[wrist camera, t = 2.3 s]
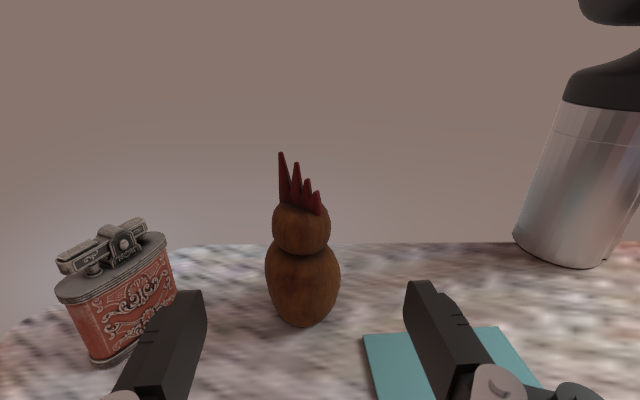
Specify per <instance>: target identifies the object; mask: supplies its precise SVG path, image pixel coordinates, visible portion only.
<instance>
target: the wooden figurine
mask: <svg viewBox="0 0 640 400" xmlns="http://www.w3.org/2000/svg"><path fill="white" fill-rule="evenodd" d="M278 159H279V199H280V203H279V205H278V206H277V207H276V208H275V210H274V212H273V216H272V234H273V238H274V241H273V242H272V243H271V245H270V247H269V249H268V251H267V254H266V257H265V276H266V281H267V286H268V290H269V294H270V297H271V299H272V302H273V304H274V306H275V308H276V310H277V312H278V314H279V315H280V316H281V317H282V318H283V319H284V320H285V321H286V322H288V323H289V324H291V325H293V326H298V327H308V326H313V325H315V324H317V323H319V322H321V321H322V320H323V319H324V318H325V317H326V316H327V315H328V313H329V312H330V311H331V309H332V308H333V306H334V304H335V301H336V298H337V294H338V291H339V288H340V280H341V275H340V267H339V264H338V262H337V260H336V257H335V255H334V253H333V251H332V250H331V249H330V247H329V246H328V245H327V242H328V240H329V237H330V231H331V221H330V218H329V215H328V211H327V209H326V208H325V207H324V205H323V204H322V203H321V198H320V193H319V191H318V190H317V191H315V192H313V194H312V189H311V183H310V179H309V178H307V179H305V180H304V185H303V184H302V178H301V172H300V166H299V162H295V163H294V169H293V176H292V182H291V179H290V175H289V172H288V168H287V165H286V161H285V158H284V154H283V152H279V153H278Z"/></svg>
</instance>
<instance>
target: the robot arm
mask: <svg viewBox="0 0 640 400" xmlns="http://www.w3.org/2000/svg"><path fill="white" fill-rule="evenodd" d="M578 2H579V7H580V9H581V11H582V13H583V15H584V16H585V17H586V18H587V19H589V20H591V21H593V22H596V23H598V24H603V25H612V26H640V0H578ZM639 205H640V48H639V49H638V50H636V51H634V52H632V53H631V54H629V55H627V56H624V57H622V58H620V59H617V60H614V61H611V62H608V63H605V64H601V65H598V66H594V67H589V68H585V69H582V70H580V71H577V72H576V73H574V74H573V75H572V76H571V78H570V79H569V81H568V83H567V86H566V88H565V91H564V94H563V97H562V100H561V102H560V105H559V107H558V110H557V113H556V115H555V118H554V121H553V124H552V127H551V129H550V132H549V135H548V138H547V140H546V143H545V146H544V148H543V151H542V154H541V157H540V159H539V162H538V165H537V167H536V170H535V173H534V175H533V178H532V181H531V184H530V186H529V189H528V192H527V194H526V197H525V200H524V203H523V205H522V208H521V211H520V214H519V216H518V219H517V222H516V225H515V227H514V230H513V233H512V235H513V238H514V240H515V241H516V242H517V243H518V245H519V246H521V247H522V248H523V249H525V250H526V251H528V252H529V253H531V254H533V255H534V256H537V257H539V258H541V259H543V260H546V261H548V262H551V263H554V264H558V265H561V266H566V267H571V268H581V269H584V268H592V267H596V266H597V265H599V264H600V263H601V261H602V259H608V258H610V256H611V254H612V252H613V251H614V249H615V247H616V245H617V244H618V242H619V240H620V238H621V237H622V235H623V233H624V231H625V230H626V228H627V226H628V224H629V223H630V221H631V219H632V217H633V216H634V214H635V212H636V210H637V209H638V207H639ZM403 320H404V324H405V326H406V329H407V331H408V334H409V336H410V338H411V341H412V343H413V346H414V348H415V350H416V353H417V355H418V358H419V360H420V362H421V365H422V367H423V369H424V372H425V374H426V377H427V379H428V381H429V384H430V386H431V389H432V391H433V393H434V396H435V398H436V400H604V399H603V398H602V397H600V396H599V395H598V394H597V393H595V392H594V391H592V390H590V389H588V388H587V387H585V386H582V385H580V384H577V383H572V382H564V383H561V384H560V385H559V386H558V387H557V389H556V391H555V392H554V391H550V390H546V389H541V388H537V387H533V386H529V385H526V384H523V383H521V382H520V380H519V379H518V378H517V377H516V376H515V375H514V374H512V373H511V372H510V371H508V370H507V369H505V368H503V367H501V366H498V365H496V364H495V362H494V361H493V359H492V358H491V356H490V355H489V353H488V352H487V350H486V349H485V347H484V346H483V344H482V343H481V341H480V340H479V338H478V336H477V335H476V333H475V332H474V330H473V329H472V327H471V326H469V323H468V321H467V320H466V318H465V317H464V316H463V314H462V312H461V310H460V309H459V307H458V306H457V304H456V303H455V302H454V301H453V300H452V299H450V298H449V297H448V296H447V295H446V294H444V293H437V291H436V289H435V288H434V286H433V285H432V283H431V282H430V281H429V280H417V281H409V282H408V285H407V290H406V295H405V300H404V306H403ZM206 333H207V316H206V311H205V306H204V301H203V297H202V292H201V290H183V291H178V292H177V294H176V296H175V298H174V300H173V302H172V304H171V306H162V307H161V308H160V309H159V310H158V311H157V312H156V313H155V314H154V315H153V316H152V317H151V318H150V319H149V321H148V323H147V325H146V327H145V329H144V331H143V334H142V335H141V337H140V338H139V340H138V344H137V345H136V346H135V348H134V350H133V352H132V354H131V356H130V358H129V360H128V362H127V363H126V365H125V367H124V369H123V371H122V373H121V375H120V377H119V379H118V381H117V383H116V385H115V386H114V388H113V390H112V392H111V393H110V394H109V395H107V396H105V397H103V398H102V399H100V400H187V398H188V395H189V392H190V388H191V385H192V381H193V378H194V375H195V371H196V368H197V364H198V361H199V358H200V354H201V351H202V347H203V344H204V341H205V337H206Z"/></svg>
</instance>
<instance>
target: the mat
mask: <svg viewBox="0 0 640 400" xmlns="http://www.w3.org/2000/svg"><path fill="white" fill-rule="evenodd" d="M472 329H473V330H474V332H475V333H476V335H477V336H478V338H479V340H480V341H481V343H482V344H483V346H484V347H485V349H486V350H487V352H488V353H489V355H490V356H491V358H492V359H493V361H494V362H495V364H496V365H498V366H501V367H503V368H505V369H507V370H508V371H510V372H511V373H512V374H514V375H515V376H516V377H517V378H518V379H519V380H520V382H521V383H523V384H526V385H529V386H533V387H537V388H541V389H543V387H542V386H541V385H540V383H539V382H538V381H537V379H536V378H535V377H534V375H533V374H532V373H531V371H530V370H529V368H528V367H527V366H526V364H525V363H524V362H523V360H522V359H521V358H520V356H519V355H518V353H517V352H516V351H515V349H514V348H513V347H512V345H511V344H510V343H509V341H508V340H507V338H506V337H505V336H504V334H503V333H502V332H501V330H500V329H499V328H498V326H494V327H478V328H472ZM363 342H364V346H365V350H366V354H367V358H368V362H369V366H370V370H371V375H372V379H373V383H374V387H375V391H376V395H377V399H378V400H436V398H435V396H434V393H433V391H432V389H431V386H430V384H429V381H428V379H427V377H426V374H425V372H424V369H423V367H422V365H421V362H420V360H419V358H418V355H417V353H416V350H415V348H414V346H413V343H412V341H411V338H410V336H409V334H408V332H401V333H386V334H370V335H363Z"/></svg>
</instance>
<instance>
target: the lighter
mask: <svg viewBox="0 0 640 400" xmlns="http://www.w3.org/2000/svg"><path fill="white" fill-rule="evenodd" d="M147 230H148V229H147V226H146V223H145V219H144V218H141V217H135V218H132V219H130V220H128V221H126V222H124V223H122V224H121V225H119V226H113V225H105V226H104V227H101V228H100V229H99V231H98V233H97V236H96V238H94V239H88V240H86V241H85V242H83V243H81V244H79V245H77V246H75V247H73V248H71V249H69V250H67V251H65V252H63V253H62V254H60V255H58V258H57V259H56V260H55V262H56V264H57V266H58V268H59V270H60V272H61V273H62V274H63V275H66V276H67V277H65V278H64V279H63V280H61V281H60V282H59V283H58V284H57V285H56V287H55V289H54V291H55V294H56V296H57V298H58V300H59V302H61V303H62V304H65V306H66V308H67V310H68V312H69V314H70V316H71V318H72V320H73V322H74V323H75V325H76V327H77V329H78V331H79V333H80V335H81V337H82V339H83V341H84V343H85V345H86V347H87V349H88V351H89V352H88V357H89V360H90V362H91V364H92V366H94V367H95V368H96V369H99V370H107V369H110V368H113V367H115V366H117V365H118V364H120V363H121V362H122V361H124V360H125V359H126V358H128V357H129V356H130V355H131V354H132V352H133V350H134V348H135V346H136V345H137V344H138V340H139V338H140V337H141V335H142V334H143V331H144V329H145V327H146V325H147V323H148V321H149V319H150V318H151V317H152V316H153V315H154V314H155V313H156V312H157V311H158V310H159V309H160V308H161V307H162V306H171V304H172V302H173V300H174V298H175V296H176V294H177V292H178V291H177V289H176V285H175V281H174V278H173V274H172V270H171V267H170V263H169V259H168V255H167V252H166V248H165V247H166V245H167V242H166V239H165V236H164V234H163V233H160V232H147Z"/></svg>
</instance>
